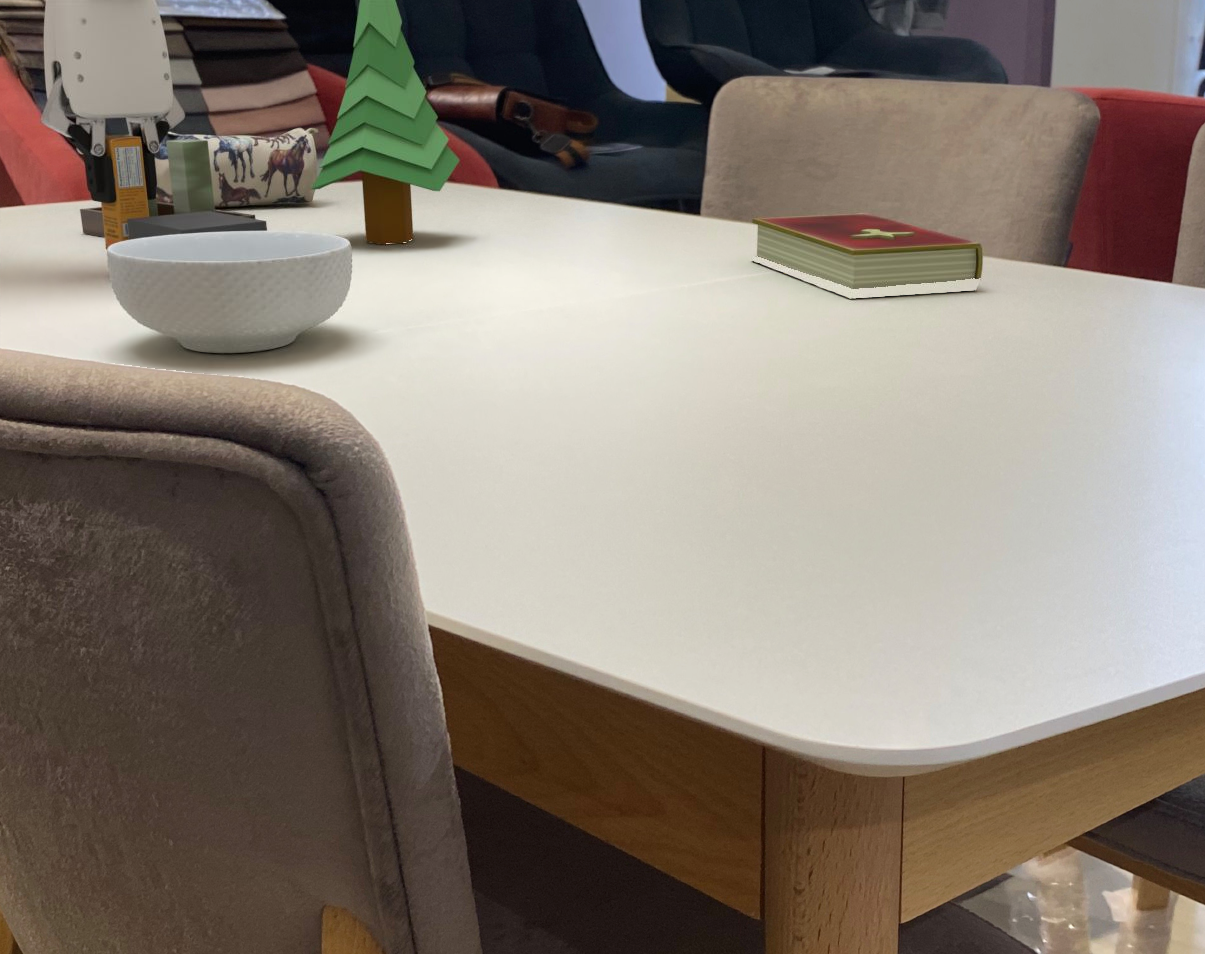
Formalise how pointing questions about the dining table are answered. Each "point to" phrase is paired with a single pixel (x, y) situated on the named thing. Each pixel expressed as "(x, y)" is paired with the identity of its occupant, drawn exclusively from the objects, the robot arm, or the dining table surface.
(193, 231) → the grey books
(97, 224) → the book rack
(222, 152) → the pencil case
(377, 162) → the decorative tree
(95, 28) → the robot arm
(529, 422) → the dining table surface
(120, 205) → the supplement box
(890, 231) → the hardcover book
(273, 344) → the cereal bowl
